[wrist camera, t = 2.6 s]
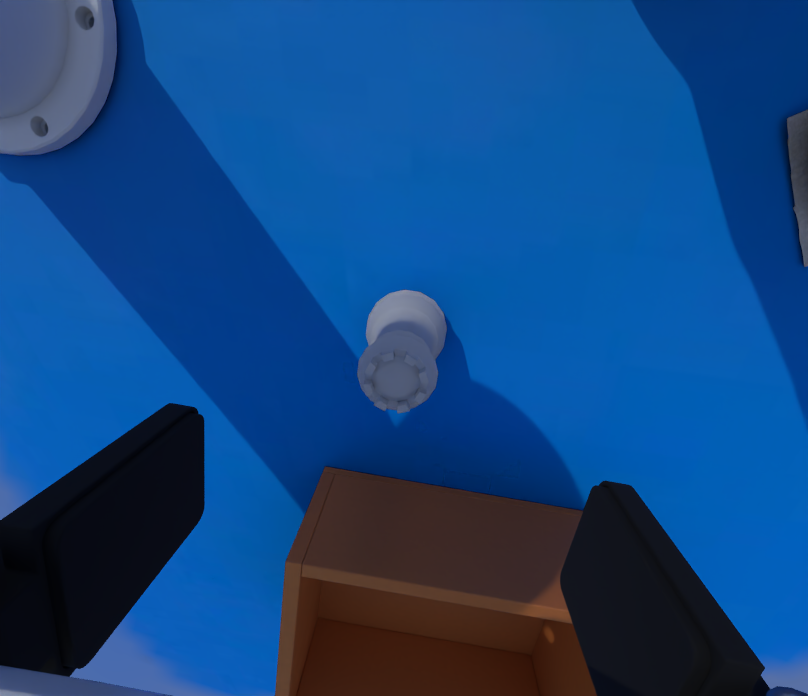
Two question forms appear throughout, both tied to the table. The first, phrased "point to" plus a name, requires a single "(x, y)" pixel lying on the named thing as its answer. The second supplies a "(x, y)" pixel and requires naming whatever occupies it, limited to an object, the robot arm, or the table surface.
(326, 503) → the bin
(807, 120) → the condiment
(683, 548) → the table surface
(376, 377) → the rook chess piece
